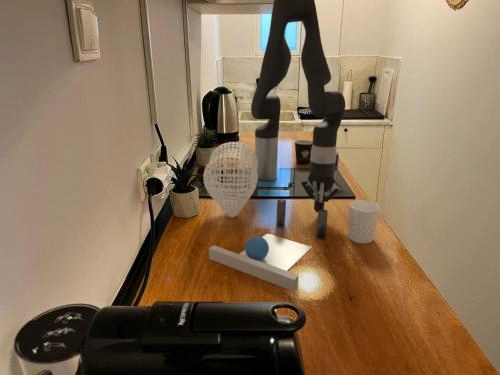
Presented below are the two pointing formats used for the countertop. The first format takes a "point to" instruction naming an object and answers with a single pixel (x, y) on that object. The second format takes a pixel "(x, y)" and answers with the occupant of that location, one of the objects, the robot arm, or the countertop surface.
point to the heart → (212, 178)
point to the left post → (281, 213)
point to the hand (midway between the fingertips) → (318, 211)
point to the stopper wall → (254, 267)
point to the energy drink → (336, 166)
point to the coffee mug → (303, 151)
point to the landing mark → (282, 252)
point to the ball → (257, 248)
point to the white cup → (362, 221)
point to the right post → (321, 224)
